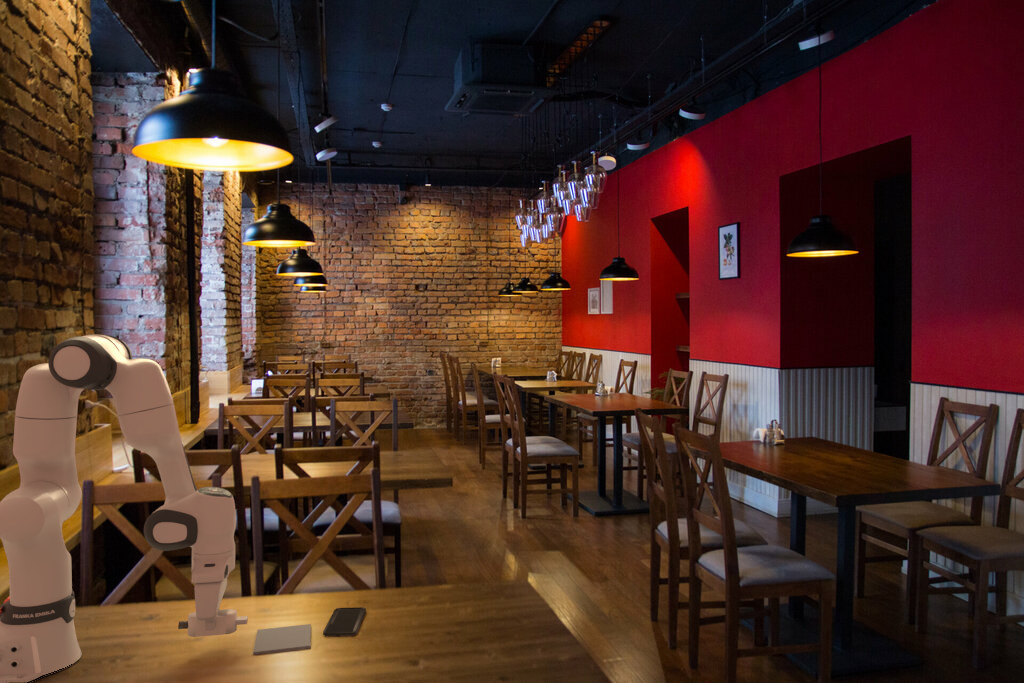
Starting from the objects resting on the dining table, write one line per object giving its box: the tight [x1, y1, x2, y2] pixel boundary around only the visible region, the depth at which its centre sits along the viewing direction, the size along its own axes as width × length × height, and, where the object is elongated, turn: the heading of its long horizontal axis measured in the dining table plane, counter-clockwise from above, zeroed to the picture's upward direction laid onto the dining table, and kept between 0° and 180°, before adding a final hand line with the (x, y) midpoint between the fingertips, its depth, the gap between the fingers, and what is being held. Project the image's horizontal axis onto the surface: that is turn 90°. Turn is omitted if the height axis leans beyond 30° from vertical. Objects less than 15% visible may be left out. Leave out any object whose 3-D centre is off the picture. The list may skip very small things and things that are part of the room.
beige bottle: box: [177, 608, 249, 638], centre depth 157 cm, size 14×4×4 cm, turn 105°
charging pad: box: [252, 623, 312, 656], centre depth 163 cm, size 12×12×1 cm
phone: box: [322, 606, 367, 637], centre depth 173 cm, size 8×1×15 cm
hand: (212, 624), depth 157 cm, fingers closed on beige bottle, 4 cm apart
